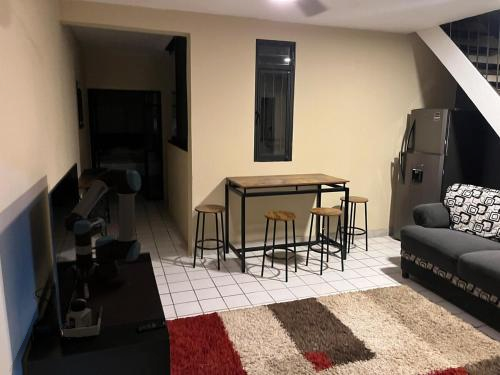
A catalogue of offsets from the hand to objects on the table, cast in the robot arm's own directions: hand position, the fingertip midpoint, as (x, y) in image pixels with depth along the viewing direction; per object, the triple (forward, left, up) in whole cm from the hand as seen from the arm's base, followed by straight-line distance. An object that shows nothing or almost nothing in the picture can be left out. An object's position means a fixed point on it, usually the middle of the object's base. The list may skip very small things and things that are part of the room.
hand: (86, 296), depth 195 cm
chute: (+13, 0, -7) cm, 15 cm away
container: (+16, -2, -7) cm, 18 cm away
